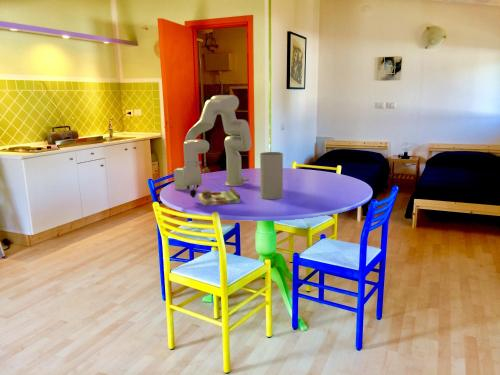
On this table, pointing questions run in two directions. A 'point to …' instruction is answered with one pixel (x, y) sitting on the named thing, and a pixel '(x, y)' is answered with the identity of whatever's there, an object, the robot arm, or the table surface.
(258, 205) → the table surface
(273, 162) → the cylinder vase
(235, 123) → the robot arm
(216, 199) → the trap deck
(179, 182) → the supplement box
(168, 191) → the table surface
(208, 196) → the walnut block
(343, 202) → the table surface
